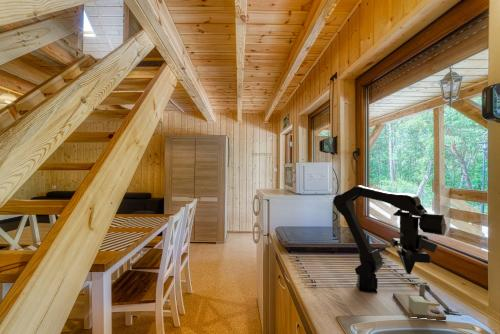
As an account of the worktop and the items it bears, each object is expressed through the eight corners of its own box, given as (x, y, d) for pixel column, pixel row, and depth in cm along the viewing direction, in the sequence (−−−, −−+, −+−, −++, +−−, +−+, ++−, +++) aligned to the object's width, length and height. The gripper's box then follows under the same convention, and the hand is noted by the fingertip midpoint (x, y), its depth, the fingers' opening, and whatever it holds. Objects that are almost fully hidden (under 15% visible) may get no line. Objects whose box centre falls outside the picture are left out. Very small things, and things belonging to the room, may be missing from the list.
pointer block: (413, 313, 84) (414, 301, 84) (408, 307, 88) (408, 295, 88) (442, 316, 82) (442, 304, 82) (435, 309, 86) (435, 297, 86)
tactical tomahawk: (468, 320, 85) (469, 316, 85) (445, 315, 87) (445, 312, 87) (439, 289, 106) (439, 286, 106) (420, 285, 107) (420, 283, 107)
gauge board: (408, 317, 84) (408, 297, 84) (392, 296, 98) (393, 279, 98) (446, 321, 82) (446, 301, 82) (425, 299, 96) (425, 282, 96)
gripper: (449, 238, 82) (448, 287, 82) (421, 225, 101) (420, 265, 101) (410, 236, 84) (410, 284, 84) (390, 223, 103) (389, 263, 103)
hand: (408, 273), depth 93 cm, fingers closed
